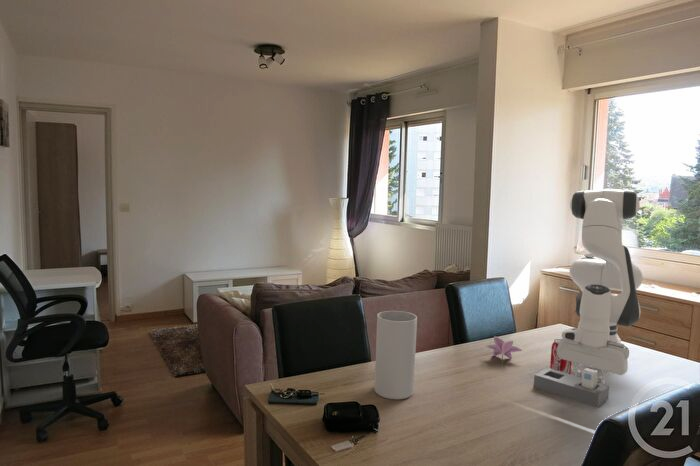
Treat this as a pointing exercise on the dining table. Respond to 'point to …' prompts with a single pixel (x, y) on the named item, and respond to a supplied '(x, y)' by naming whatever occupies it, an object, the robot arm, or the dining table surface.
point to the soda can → (559, 360)
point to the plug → (589, 378)
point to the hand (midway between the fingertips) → (589, 379)
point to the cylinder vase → (395, 354)
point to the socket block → (570, 387)
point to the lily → (503, 348)
